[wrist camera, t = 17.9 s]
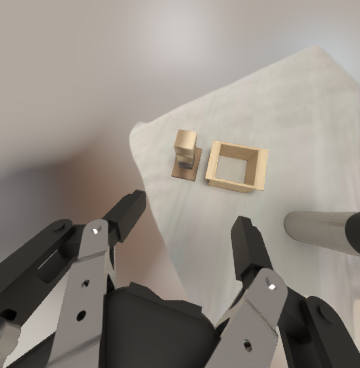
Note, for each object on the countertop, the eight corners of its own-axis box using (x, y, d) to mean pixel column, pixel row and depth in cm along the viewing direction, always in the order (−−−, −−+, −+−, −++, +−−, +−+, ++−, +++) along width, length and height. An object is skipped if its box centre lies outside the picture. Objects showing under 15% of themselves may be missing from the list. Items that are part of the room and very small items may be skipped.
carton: (255, 159, 48) (268, 149, 40) (251, 194, 46) (263, 190, 38) (209, 151, 50) (213, 140, 43) (202, 183, 48) (205, 178, 40)
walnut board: (201, 150, 51) (201, 148, 49) (194, 181, 48) (194, 180, 47) (179, 146, 52) (179, 144, 51) (172, 176, 50) (171, 175, 48)
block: (194, 157, 49) (196, 132, 33) (192, 169, 48) (192, 149, 32) (182, 155, 49) (178, 129, 34) (179, 167, 48) (174, 146, 33)
